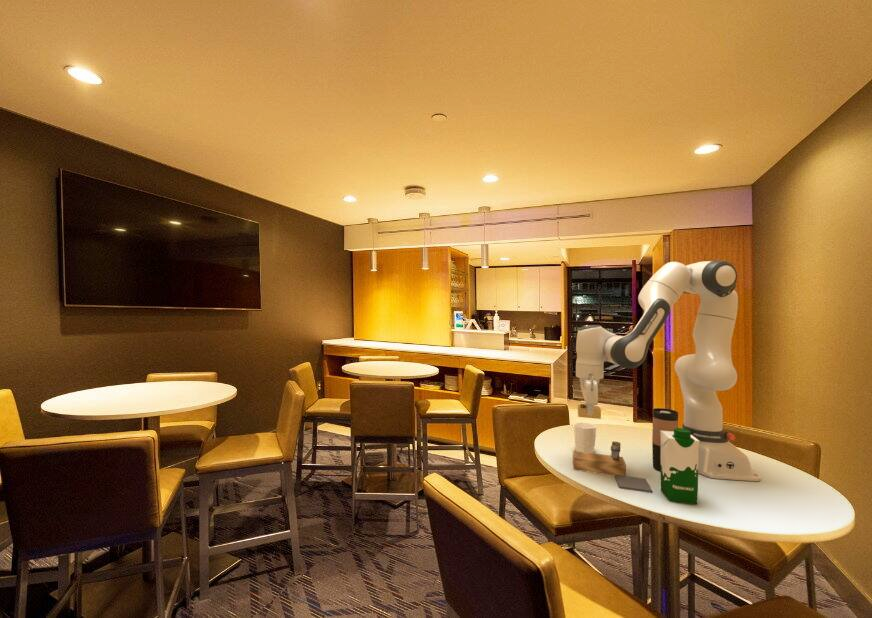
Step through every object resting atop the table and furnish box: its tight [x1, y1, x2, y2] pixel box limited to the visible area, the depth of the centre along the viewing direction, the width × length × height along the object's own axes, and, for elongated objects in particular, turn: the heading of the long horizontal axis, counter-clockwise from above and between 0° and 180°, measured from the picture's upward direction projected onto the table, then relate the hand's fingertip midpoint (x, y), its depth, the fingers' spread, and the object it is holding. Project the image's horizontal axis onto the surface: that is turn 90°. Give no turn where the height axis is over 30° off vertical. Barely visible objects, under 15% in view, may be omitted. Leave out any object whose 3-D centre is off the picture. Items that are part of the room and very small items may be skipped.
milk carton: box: [659, 427, 699, 506], centre depth 110 cm, size 9×9×20 cm
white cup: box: [573, 422, 597, 454], centre depth 147 cm, size 8×8×10 cm
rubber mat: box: [614, 475, 654, 494], centre depth 118 cm, size 9×9×1 cm
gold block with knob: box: [577, 403, 602, 420], centre depth 131 cm, size 7×5×4 cm
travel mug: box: [651, 407, 679, 472], centre depth 131 cm, size 8×8×20 cm
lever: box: [610, 441, 622, 458], centre depth 125 cm, size 10×3×4 cm, turn 150°
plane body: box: [572, 450, 627, 476], centre depth 129 cm, size 16×7×7 cm, turn 73°
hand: (589, 412), depth 131 cm, fingers closed on gold block with knob, 5 cm apart
